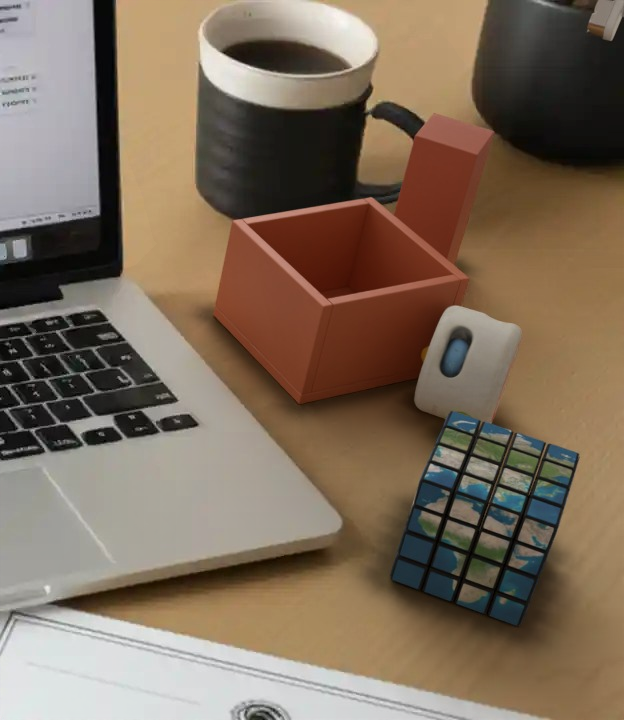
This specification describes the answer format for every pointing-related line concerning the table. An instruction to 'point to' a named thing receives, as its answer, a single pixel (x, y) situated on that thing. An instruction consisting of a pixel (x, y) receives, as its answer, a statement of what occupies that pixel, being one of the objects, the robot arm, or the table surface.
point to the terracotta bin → (334, 296)
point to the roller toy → (467, 365)
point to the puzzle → (501, 522)
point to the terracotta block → (443, 181)
